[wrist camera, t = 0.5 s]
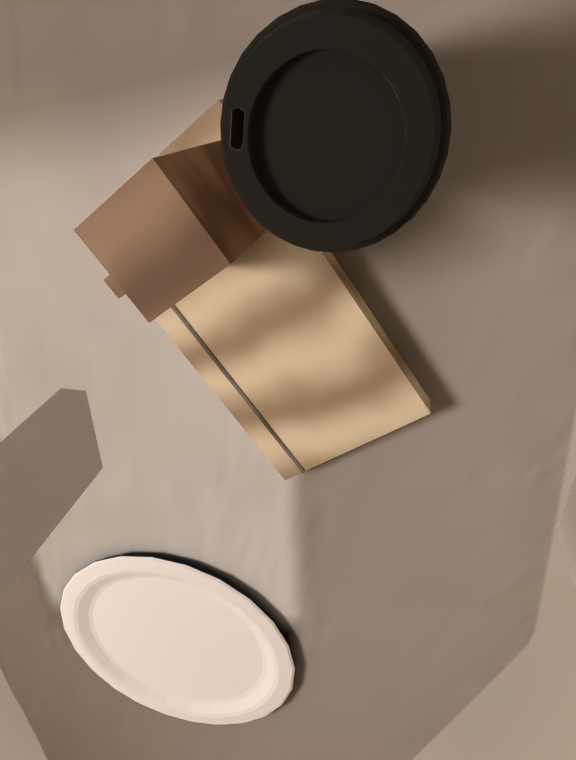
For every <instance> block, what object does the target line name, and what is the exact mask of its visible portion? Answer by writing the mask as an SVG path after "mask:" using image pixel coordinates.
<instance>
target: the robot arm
mask: <svg viewBox="0 0 576 760" xmlns="http://www.w3.org/2000/svg"><path fill="white" fill-rule="evenodd" d="M102 468H103V467H102V462H101V458H100V453H99V449H98V444H97V440H96V435H95V431H94V426H93V422H92V417H91V413H90V408H89V404H88V399H87V395H86V391H82V390H73V389H64V388H61V389H60V390H59V391H58V392H56V393H55V394H54V395H53V396H52V397H51V398H50V399H49V400H48V401H46V402H45V403H44V404H43V405H42V406H41V407H40V408H39V409H37V410H36V411H35V412H34V413H33V414H32V415H31V416H30V417H28V418H27V419H26V420H25V421H24V422H23V423H22V424H21V425H20V426H18V427H17V428H16V429H15V430H14V431H13V432H12V433H11V434H9V435H8V436H7V437H6V438H5V439H4V440H3V441H2V442H1V443H0V597H1V596H2V594H3V593H4V592H5V590H6V589H7V588H8V587H9V585H10V584H11V583H12V582H13V580H14V579H15V578H16V577H17V575H18V574H19V573H20V572H21V570H22V569H23V568H24V566H25V565H26V564H27V563H28V561H29V560H30V559H31V558H32V556H33V555H34V554H35V553H36V551H37V550H38V549H39V548H40V546H41V545H42V544H43V542H44V541H45V540H46V539H47V537H48V536H49V535H50V534H51V532H52V531H53V530H54V529H55V527H56V526H57V525H58V523H59V522H60V521H61V520H62V518H63V517H64V516H65V515H66V513H67V512H68V511H69V510H70V508H71V507H72V506H73V505H74V503H75V502H76V501H77V499H78V498H79V497H80V496H81V494H82V493H83V492H84V491H85V489H86V488H87V487H88V486H89V484H90V483H91V482H92V481H93V479H94V478H95V477H96V475H97V474H98V473H99V472H100V470H101V469H102ZM558 533H559V537H560V540H561V543H562V547H563V550H564V553H565V556H566V560H567V563H568V567H569V570H570V573H571V576H572V580H573V583H574V586H575V590H576V476H575V479H574V482H573V485H572V488H571V491H570V494H569V497H568V500H567V503H566V506H565V509H564V512H563V515H562V518H561V521H560V524H559V527H558Z"/></svg>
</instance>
